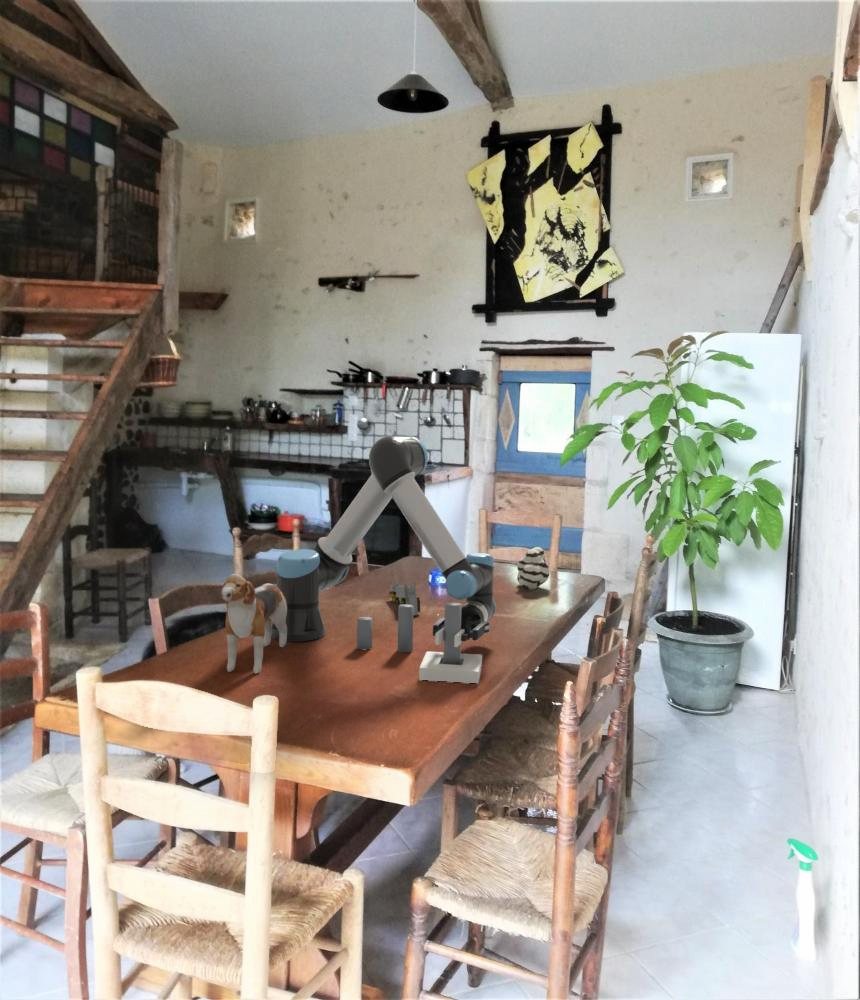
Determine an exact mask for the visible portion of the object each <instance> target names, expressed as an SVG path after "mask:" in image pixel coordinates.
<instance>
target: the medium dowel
mask: <svg viewBox="0 0 860 1000" xmlns="http://www.w3.org/2000/svg"><path fill="white" fill-rule="evenodd" d="M397 608H398V610H397V611H398V612H397V613H398V614H397V619H398V620H397V652H399V653H403V652H408V653H412V652H413V651H412V650H414V649H413V648H414V647H413V645H414V644H413V643H414V615H413V612H414V606H413V605H407V604H404V605H400V604H399V605H398V607H397ZM411 651H412V652H411Z"/></svg>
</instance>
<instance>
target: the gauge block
mask: <svg viewBox="0 0 860 1000" xmlns="http://www.w3.org/2000/svg"><path fill="white" fill-rule="evenodd" d="M424 654H425V655H424V657H423V658H422V661H421V663H420V666H419V669H418V681H422V680H428V681H427V682H437V681H447V682H446V683H453V682H463V683H462V684H469V683H477V684H476V685H479V684H478V683H479V682H480V679H481V673H482V668H483V667H482V666H483V654H479V653H478V654H477V653H462V652H460V665H451V664H443V659H444V651H429V650H428V651H426V652H425V653H424ZM481 667H482V668H481Z"/></svg>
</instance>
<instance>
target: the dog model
mask: <svg viewBox="0 0 860 1000" xmlns="http://www.w3.org/2000/svg"><path fill="white" fill-rule="evenodd" d="M220 591H221V592H220V596H221V599H223V601H224V603H226V604H227V611H226V616H225V632H226V634H225V635H226V641H227V642H226V643H227V644H226V645H227V663H226V670H227V672H228V673H231V672H233V671H234V670H235V668H236V663H237V662H236V661H237V656H238V655H237V654H238V653H237V651H238V650H237V647H238V641H239V638H240V639H243V638H248V637H250V636H252V642H253V659H254V660H253V662H254V664H253V670H252V671H253V674H255V675H257V673H258V674H260V672H261V671H262V665H263V659H264V647H265V646H267V647H268V645H269V646H270V644H271V642H272V637H271V634H272V627H271V624H272V623H271V621H272V622H273V623H274V624H275V626H276V628H277V629H278V631H279V640H278V646H279V648H280V647H282V648H284V647H285V646H286V644H287V642H288V641H287V626H286V615H287V603H286V599H285V597H284V595H283V592H281V590H280V589H279V588H278V587H277V585H275V584H272V583H269V582H268V583H264V584H260V586H257V587H254V585H253V584H252V582H250V581H249V580H247V579H245V578H244V577H243V576H241V575H240V574H238V573H232V574H230V575H229V576H228V577H227V578H226V579H225V581H224V583H223V585H222V588H221V590H220Z"/></svg>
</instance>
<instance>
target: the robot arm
mask: <svg viewBox="0 0 860 1000" xmlns="http://www.w3.org/2000/svg"><path fill="white" fill-rule="evenodd" d="M428 462H429V455H428V451H427V448H426V447H425V444H423V442H422V441H421V440H419V439H418V438H416V437H415V436H411V435H400V436H391V435H389V436H384V437H381V438H380V439H378V440H377V441H375V442H374V444H373V445H372V446H371V447H370V450H369V455H368V463H369V467H370V473H371V475H370V476H369V477H368V479H367V481H366V482H365V483H364V484H363V486H362V487H361V489H360V491H359V492H358V493H357V495H356V496H355V497H354V498H353V500H352V501H351V503H350V504H349V506H348V507H347V508H346V510H345V511H344V513H343V514H342V516H341V517H340V518H339V520H338V521H337V523H336V524H335V525H334V526H333V528H332V530H331V531H330V532H329V533H328V535H327V536H323V537H319V539H318V540H317V542H316V543H315V544H314V546H313V548H312V549H308V548H305V549H304V548H303V549H302V548H300V549H298V548H297V549H295V550H288V551H285V552H282V553H281V554H280V555H279V557H277V564H276V565H277V566H276V570H275V571H276V587H278V588H279V589H280V590H281V592H283V595H284V597H285V599H286V603H287V615H286V626H287V641H286V642H308V640H309V641H314V639H315V640H319V639H321V638H323V637H324V636H325V631H326V630H325V629H326V627H325V626H326V625H325V624H324V620H323V618H322V614H321V611H320V607H319V606H320V592H321V591H324V590H327V589H330V588H333V587H336V586H338V585H339V584H340V583H342V581H344V580H345V578H346V576H347V575H348V572H349V569H350V567H349V566H350V565H351V563H352V562H353V556H352V553H353V552H354V551H355V549H356V548H357V547H358V545H359V543H360V542H361V541H362V540H363V539H364V537H365V536H366V534H367V532H368V531H369V530H370V528H371V527H372V526H373V525H374V523H375V522H376V520H377V519H378V517H379V516H380V515H381V513H382V512H383V510H385V507H387V505H388V504H389V503H390V502H391V500H393V501H394V502H395V504H396V505H397V507H398V509H399V510H400V511H401V513H402V515H403V516H404V517H405V519H406V521H407V522H408V524H409V525H410V527H411V529H412V530H413V531H414V533H415V534H416V536H417V537H418V539H419V542H421V544H422V545H423V547H424V548H425V550H426V552H427V553H428V554H429V556H430V558H431V559H432V561H433V562H434V564H435V566H436V567H437V568H438V570H439V571H440V573H441V575H442V576H443V578H444V579H445V582H444V583H445V584H444V585H445V590H446V593H447V594H448V595H449V596H450V597H451V598H453V599H455V600H458V601H459V600H461V601H462V600H465V604H462V609H461V630H460V631H459V632H458V633H457V634H456V635H455V637H454V647H458V646H459V645H460V646H461V644H462V643H463V642H467V641H470V639H472V640H473V641H478V640H479V639H481V637H482V636H484V635H485V634H487V633H489V632H490V620H491V619H492V618H493V617H494V615H495V613H496V610H497V604H496V602H495V599H494V569H495V566H494V556H493V555H492V554H490V553H486V552H485V553H484V552H473V553H472V552H471V553H468V554H467V555H465V554H464V552H463V551H462V550H461V548H460V547H459V545H458V544H457V542H456V541H455V539H454V537H453V536H452V534H451V533H450V532H449V530H448V528H447V526H446V525H445V524H444V522H443V521H442V519H441V517H440V516H439V514H438V513H437V511H436V509H434V506H433V505H432V503H431V502H430V501H429V499H428V497H427V496H426V495H425V493H424V492H423V490H422V488H421V487H420V485H419V484H418V482H417V481H416V479H415V478H417V477H418V476H420V475H421V474H422V473H423V472H424V471H425V469H426V468H427V465H428ZM444 624H445V616H444V617H443V616H439V617H438V619H437V621H436V622H434V624H432V636H434V637H435V638H434V639H435V642H434V644H435V646H439V645H440V644H441V643H442V642H444ZM271 627H272V634H271V636H272V637H274V638H277V639H279V631H278V629H277V628H276V626H275V624H274V623H273V622H272V623H271ZM272 637H271V638H272ZM274 638H273V639H274ZM277 639H276V640H277Z"/></svg>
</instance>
